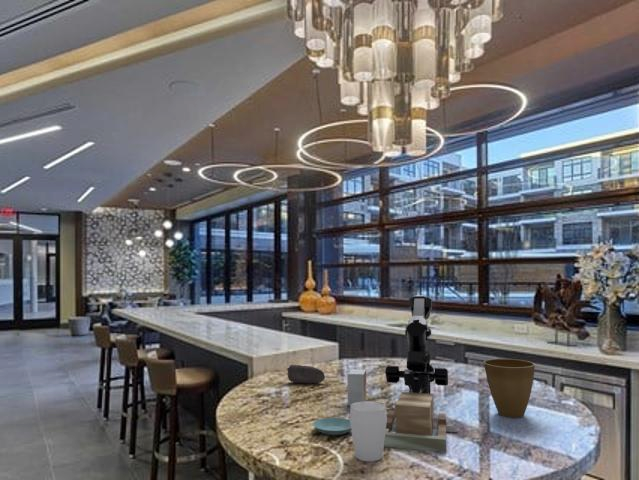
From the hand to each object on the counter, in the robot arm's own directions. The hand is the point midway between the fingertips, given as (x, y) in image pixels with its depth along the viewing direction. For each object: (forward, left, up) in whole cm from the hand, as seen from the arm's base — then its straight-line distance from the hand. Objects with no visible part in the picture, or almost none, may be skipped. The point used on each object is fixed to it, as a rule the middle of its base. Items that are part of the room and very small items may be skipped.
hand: (415, 400), depth 141 cm
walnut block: (+4, +6, -7) cm, 10 cm away
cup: (+24, +17, -7) cm, 30 cm away
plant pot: (-32, +3, -7) cm, 33 cm away
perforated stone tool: (+14, -59, -7) cm, 61 cm away
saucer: (+25, -3, -7) cm, 26 cm away
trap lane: (+4, +5, -7) cm, 10 cm away
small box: (+7, -26, -7) cm, 28 cm away
